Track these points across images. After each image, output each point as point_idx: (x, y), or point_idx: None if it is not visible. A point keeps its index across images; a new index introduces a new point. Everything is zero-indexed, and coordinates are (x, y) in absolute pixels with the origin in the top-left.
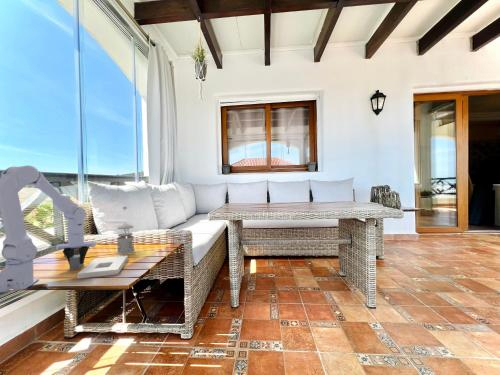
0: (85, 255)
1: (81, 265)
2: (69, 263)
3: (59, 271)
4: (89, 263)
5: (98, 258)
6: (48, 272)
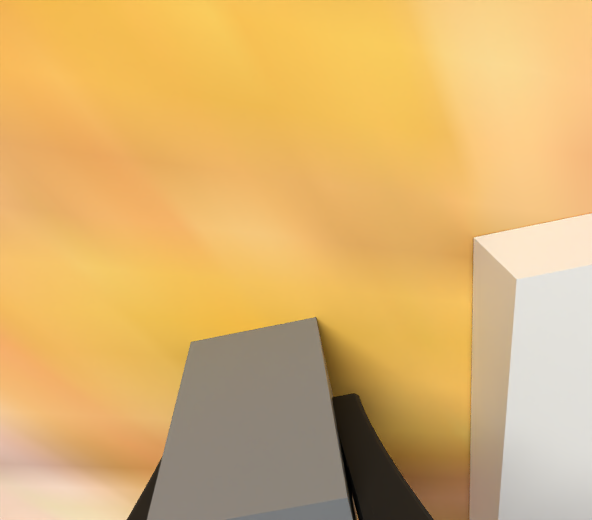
0: (418, 501)
1: (332, 393)
2: None
3: None
4: (501, 488)
5: (586, 279)
6: (46, 511)
